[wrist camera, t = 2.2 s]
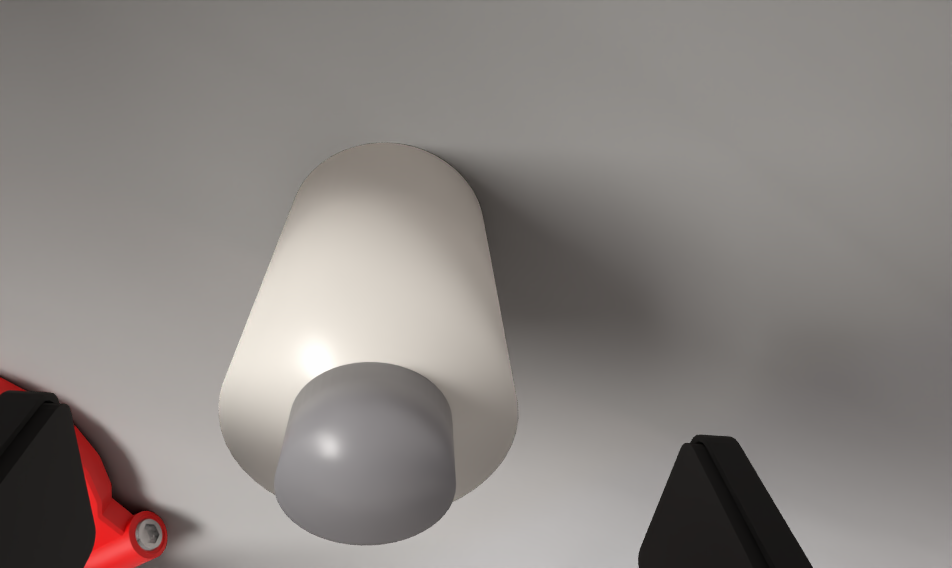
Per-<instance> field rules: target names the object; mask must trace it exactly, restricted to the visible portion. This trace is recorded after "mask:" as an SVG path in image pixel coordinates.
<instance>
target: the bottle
mask: <svg viewBox="0 0 952 568" xmlns="http://www.w3.org/2000/svg"><path fill="white" fill-rule="evenodd" d="M219 421H220V427H221V431H222V434H223V437H224V440H225V442H226V445H227V447H228V448H229V450H230V452H231V454H232V455H233V457H234V459H235V460H236V461H237V462H238V464H239V465H240V466H241V467H242V469H243V470H244V471H245V472H246V473H247V474H248V475H249V476H250V477H251V478H252V479H253V480H254V481H256V482H257V483H258V484H260V485H261V486H262V487H264V488H265V489H266V490H268V491H269V492H271V493H273V494H274V495H276V498H277V501H278V503H279V505H280V507H281V508H282V510H283V511H284V512H285V514H286V515H287V516H288V517H289V518H290V519H291V520H292V521H293V522H294V523H296V524H297V525H298V526H300V527H301V528H303V529H304V530H306V531H308V532H309V533H311V534H314V535H316V536H318V537H321V538H324V539H327V540H330V541H334V542H338V543H344V544H350V545H380V544H387V543H393V542H397V541H401V540H404V539H407V538H410V537H412V536H415V535H417V534H419V533H421V532H423V531H425V530H426V529H428V528H430V527H431V526H432V525H434V524H435V523H436V522H437V521H439V520H440V519H441V518H442V517H443V515H444V514H445V513H446V512H447V510H448V509H449V508H450V506H451V504H452V502H453V501H455V500H457V499H459V498H461V497H463V496H465V495H466V494H468V493H469V492H471V491H472V490H474V489H475V488H477V487H478V486H479V485H480V484H482V483H483V482H484V481H485V480H486V479H487V478H488V477H489V476H490V475H491V474H492V473H493V472H494V471H495V470H496V469H497V468H498V466H499V465H500V464H501V462H502V461H503V460H504V458H505V457H506V455H507V453H508V451H509V449H510V447H511V445H512V442H513V439H514V436H515V434H516V429H517V423H518V402H517V397H516V391H515V386H514V381H513V375H512V370H511V365H510V359H509V354H508V349H507V343H506V338H505V332H504V327H503V322H502V316H501V311H500V306H499V300H498V295H497V289H496V284H495V279H494V273H493V268H492V263H491V257H490V252H489V246H488V241H487V236H486V230H485V225H484V220H483V215H482V210H481V207H480V205H479V202H478V199H477V197H476V195H475V194H474V192H473V190H472V188H471V187H470V186H469V184H468V183H467V181H466V180H465V179H464V178H463V177H462V176H461V175H460V173H459V172H458V171H457V170H455V169H454V168H453V167H452V166H451V165H449V164H448V163H447V162H445V161H444V160H442V159H440V158H439V157H437V156H436V155H433V154H431V153H429V152H427V151H425V150H422V149H419V148H416V147H412V146H408V145H403V144H397V143H371V144H365V145H360V146H355V147H352V148H349V149H346V150H343V151H341V152H339V153H337V154H335V155H333V156H331V157H330V158H328V159H327V160H325V161H324V162H322V163H321V164H320V165H319V166H318V167H316V168H315V169H314V170H313V171H312V172H311V173H310V174H309V176H308V177H307V178H306V179H305V181H304V182H303V184H302V185H301V187H300V189H299V190H298V192H297V194H296V197H295V199H294V202H293V205H292V207H291V210H290V212H289V215H288V217H287V220H286V223H285V225H284V228H283V230H282V233H281V235H280V238H279V241H278V243H277V246H276V248H275V251H274V253H273V256H272V259H271V261H270V264H269V266H268V269H267V271H266V274H265V277H264V279H263V282H262V284H261V287H260V289H259V292H258V295H257V297H256V300H255V302H254V305H253V307H252V310H251V313H250V315H249V318H248V320H247V323H246V325H245V328H244V331H243V333H242V336H241V338H240V341H239V343H238V346H237V349H236V351H235V354H234V356H233V359H232V361H231V364H230V367H229V369H228V372H227V374H226V377H225V379H224V382H223V385H222V388H221V393H220V398H219Z"/></svg>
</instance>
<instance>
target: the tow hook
mask: <svg viewBox="0 0 952 568" xmlns="http://www.w3.org/2000/svg"><path fill="white" fill-rule="evenodd" d="M8 390H16V391H25V390H24V389H22V388H20V387H18V386H16V385H14V384H12V383H10V382H8V381H7V380H5V379H3V378H1V377H0V395H1V394H2V393H3V392H5V391H8ZM74 429H75V433H76V438H77V443H78V447H79V452H80V457H81V462H82V466H83V471H84V476H85V480H86V485H87V490H88V495H89V499H90V504H91V509H92V513H93V518H94V523H95V528H96V537H95V543H94V546H93V550H92V552H91V554H90V557H89V558H88V560H87V562H86V564H85V566H84V568H135V567H137V566H139V565H141V564H143V563H146V562H148V561H150V560H152V559H154V558H156V557H159V556H160V555H161V554H162V553H163V551H164V550H165V548H166V544H167V530H166V527H165V524H164V523H163V521H162V519H161V518H160V517H159V516H158V515H156V514H155V513H153V512H150V511H142V512H139V513H137V514H135V515H132V514H131V513H130V512H129V511H127V510H126V509H125V508H124V507H123V506H121V505H120V504H119V503H118V502H116V501H115V500H114V499H113V498H112V488H111V482H110V480H109V477H108V475H107V473H106V470H105V468H104V466H103V463H102V461H101V458H100V456H99V454H98V453H97V452H96V451H95V449H94V448H93V447H92V446H91V444H90V443H89V442H88V441H87V440H86V438H85V437H84V436H83V435H82V433H81V432H80V431H79V430H78V428H77V427H76V426H75V425H74Z"/></svg>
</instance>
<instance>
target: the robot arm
mask: <svg viewBox="0 0 952 568" xmlns="http://www.w3.org/2000/svg"><path fill="white" fill-rule="evenodd" d="M95 537H96V528H95V523H94V518H93V513H92V509H91V504H90V499H89V495H88V490H87V485H86V480H85V476H84V471H83V466H82V462H81V457H80V452H79V447H78V443H77V438H76V433H75V429H74V424H73V419H72V414H71V411H70V408H69V406H68V405H67V404H60V403H59V401H58V398H57V396H56V395H55V394H54V393H47V392H32V391H16V390H8V391H5V392H3V393H2V394H1V395H0V568H84V566H85V564H86V562H87V560H88V558H89V557H90V554H91V552H92V550H93V546H94V543H95ZM638 565H639V568H813V567H812V565H811V564H810V562H809V560H808V559H807V557H806V555H805V554H804V552H803V550H802V548H801V547H800V545H799V543H798V542H797V540H796V538H795V537H794V535H793V534H792V532H791V530H790V528H789V527H788V525H787V523H786V522H785V520H784V518H783V517H782V515H781V513H780V512H779V510H778V508H777V507H776V505H775V503H774V502H773V500H772V498H771V497H770V495H769V493H768V491H767V490H766V488H765V486H764V485H763V483H762V481H761V480H760V478H759V476H758V475H757V473H756V471H755V470H754V468H753V466H752V465H751V463H750V461H749V460H748V458H747V456H746V454H745V453H744V451H743V449H742V448H741V446H740V444H739V443H738V442H737V441H736V439H734V438H732V437H728V436H712V435H696V436H695V437H693V439H692V441H691V442H690V443H685V444H683V445H682V447H681V449H680V451H679V454H678V456H677V459H676V461H675V464H674V466H673V469H672V471H671V474H670V476H669V479H668V481H667V484H666V486H665V488H664V491H663V493H662V496H661V498H660V501H659V503H658V506H657V508H656V511H655V513H654V516H653V518H652V521H651V523H650V526H649V528H648V530H647V533H646V535H645V538H644V540H643V543H642V545H641V548H640V551H639V557H638Z"/></svg>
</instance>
